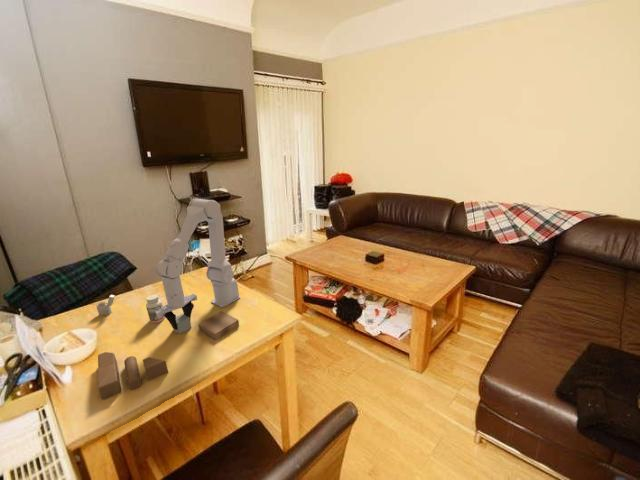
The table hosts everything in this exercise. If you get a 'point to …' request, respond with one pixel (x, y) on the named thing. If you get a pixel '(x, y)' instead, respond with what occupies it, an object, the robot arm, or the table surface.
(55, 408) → the table surface
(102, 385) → the wooden block set
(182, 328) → the grey cube
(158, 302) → the pill bottle
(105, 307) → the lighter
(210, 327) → the walnut block
